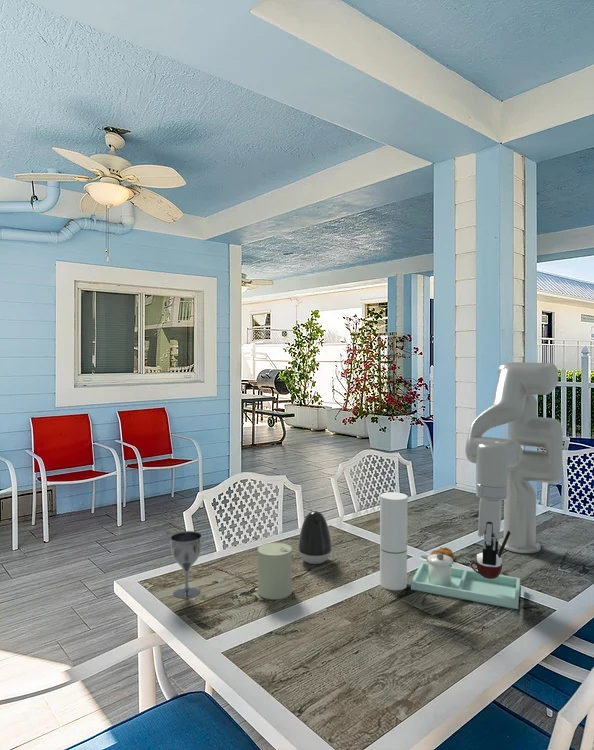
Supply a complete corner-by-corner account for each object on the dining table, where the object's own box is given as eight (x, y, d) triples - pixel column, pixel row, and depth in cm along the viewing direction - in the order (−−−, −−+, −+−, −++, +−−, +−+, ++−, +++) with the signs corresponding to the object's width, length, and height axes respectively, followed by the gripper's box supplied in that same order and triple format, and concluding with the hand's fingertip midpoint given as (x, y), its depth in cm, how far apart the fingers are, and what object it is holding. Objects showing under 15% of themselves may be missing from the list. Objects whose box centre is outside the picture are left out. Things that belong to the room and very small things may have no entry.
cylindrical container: (408, 584, 143) (409, 493, 142) (404, 595, 136) (405, 500, 135) (382, 580, 146) (382, 491, 144) (377, 591, 139) (378, 498, 138)
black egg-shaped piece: (302, 569, 153) (302, 518, 152) (295, 555, 163) (295, 507, 162) (336, 566, 155) (336, 515, 154) (326, 553, 165) (326, 505, 164)
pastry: (441, 571, 152) (441, 558, 152) (421, 564, 157) (421, 552, 157) (457, 562, 159) (457, 549, 159) (437, 556, 164) (437, 543, 163)
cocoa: (469, 577, 136) (467, 532, 136) (476, 568, 142) (474, 524, 141) (508, 585, 131) (506, 538, 130) (513, 575, 136) (511, 530, 136)
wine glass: (175, 601, 133) (175, 543, 132) (168, 589, 140) (167, 534, 140) (206, 595, 137) (205, 538, 136) (197, 583, 144) (196, 529, 143)
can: (284, 602, 133) (284, 555, 132) (251, 596, 136) (251, 550, 136) (297, 586, 142) (297, 543, 141) (265, 581, 145) (265, 538, 144)
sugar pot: (429, 575, 146) (430, 547, 146) (454, 580, 143) (454, 550, 143) (425, 585, 140) (425, 555, 140) (450, 590, 137) (451, 559, 137)
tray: (421, 572, 151) (421, 562, 151) (519, 589, 140) (519, 578, 140) (410, 592, 138) (411, 581, 138) (518, 613, 127) (518, 601, 127)
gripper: (479, 481, 145) (478, 546, 145) (472, 497, 129) (471, 569, 130) (508, 484, 142) (507, 550, 142) (505, 501, 126) (503, 575, 127)
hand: (490, 559), depth 136 cm, fingers closed on cocoa, 5 cm apart
